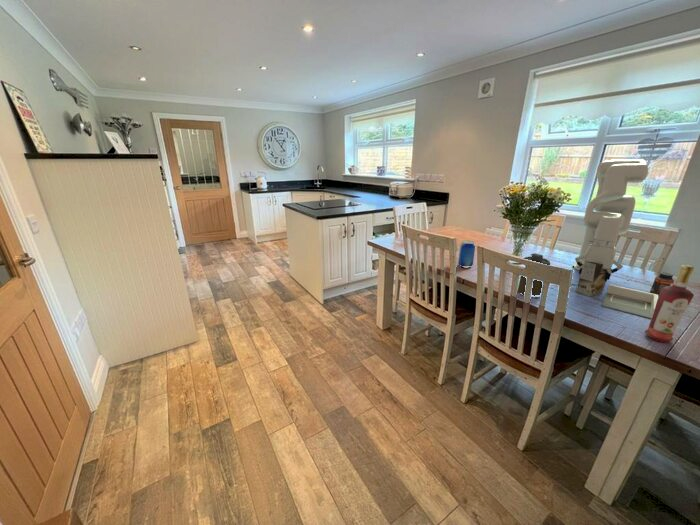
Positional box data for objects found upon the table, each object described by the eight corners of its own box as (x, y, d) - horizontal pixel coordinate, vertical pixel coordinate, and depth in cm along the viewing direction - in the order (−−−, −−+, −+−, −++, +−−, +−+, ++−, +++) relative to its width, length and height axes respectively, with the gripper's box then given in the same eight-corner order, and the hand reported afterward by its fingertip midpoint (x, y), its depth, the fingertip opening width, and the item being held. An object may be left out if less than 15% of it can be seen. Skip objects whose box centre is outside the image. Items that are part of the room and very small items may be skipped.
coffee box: (589, 296, 129) (599, 265, 124) (575, 291, 135) (583, 260, 129) (602, 293, 132) (612, 262, 126) (588, 288, 138) (597, 258, 132)
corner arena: (606, 292, 133) (609, 284, 131) (654, 303, 122) (658, 294, 120) (601, 306, 121) (604, 297, 120) (653, 319, 110) (658, 310, 109)
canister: (512, 291, 137) (519, 253, 130) (526, 287, 141) (534, 250, 134) (533, 300, 128) (542, 260, 121) (548, 295, 132) (557, 256, 125)
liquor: (650, 342, 97) (680, 269, 88) (638, 330, 104) (665, 261, 94) (677, 346, 95) (712, 271, 85) (664, 334, 101) (694, 263, 91)
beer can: (459, 268, 167) (462, 243, 162) (456, 264, 175) (459, 239, 169) (474, 269, 166) (477, 244, 160) (470, 264, 173) (473, 240, 168)
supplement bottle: (671, 299, 125) (681, 276, 121) (655, 298, 126) (664, 276, 122) (660, 293, 130) (669, 271, 126) (645, 292, 131) (653, 271, 127)
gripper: (578, 241, 128) (569, 275, 134) (629, 248, 116) (617, 285, 122) (581, 238, 133) (572, 271, 139) (630, 244, 121) (618, 280, 127)
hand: (593, 277), depth 131 cm, fingers closed on coffee box, 8 cm apart
